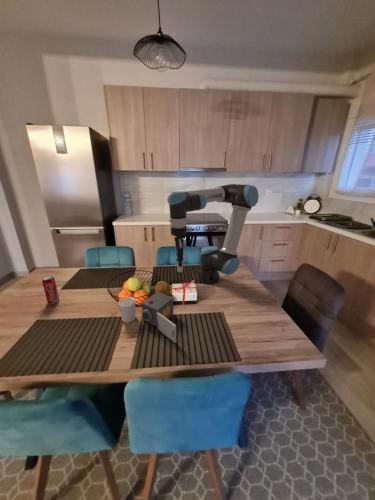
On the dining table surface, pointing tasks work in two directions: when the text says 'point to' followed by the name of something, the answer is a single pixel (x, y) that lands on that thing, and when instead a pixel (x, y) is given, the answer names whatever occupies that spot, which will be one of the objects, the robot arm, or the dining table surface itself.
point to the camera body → (157, 307)
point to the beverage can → (50, 289)
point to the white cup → (127, 309)
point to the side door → (166, 327)
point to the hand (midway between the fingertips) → (180, 271)
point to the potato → (162, 288)
